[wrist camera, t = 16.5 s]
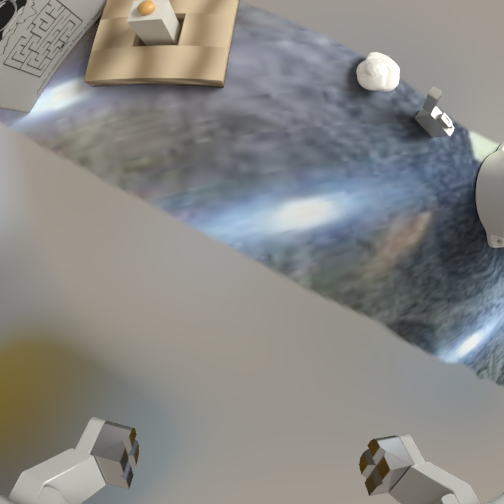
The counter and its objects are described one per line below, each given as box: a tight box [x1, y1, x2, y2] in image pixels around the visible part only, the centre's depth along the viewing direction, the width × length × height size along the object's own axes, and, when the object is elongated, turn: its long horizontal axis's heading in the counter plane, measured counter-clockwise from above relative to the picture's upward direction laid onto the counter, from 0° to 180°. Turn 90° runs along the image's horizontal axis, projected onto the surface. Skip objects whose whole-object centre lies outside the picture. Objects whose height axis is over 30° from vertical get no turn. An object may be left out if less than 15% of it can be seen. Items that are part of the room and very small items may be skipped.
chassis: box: [84, 0, 240, 87], centre depth 29 cm, size 18×14×3 cm
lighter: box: [415, 86, 454, 137], centre depth 31 cm, size 7×2×8 cm, turn 54°
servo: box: [127, 0, 180, 46], centre depth 26 cm, size 4×3×9 cm
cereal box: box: [0, 0, 107, 113], centre depth 17 cm, size 22×8×25 cm, turn 140°
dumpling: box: [356, 52, 400, 92], centre depth 31 cm, size 7×5×4 cm
